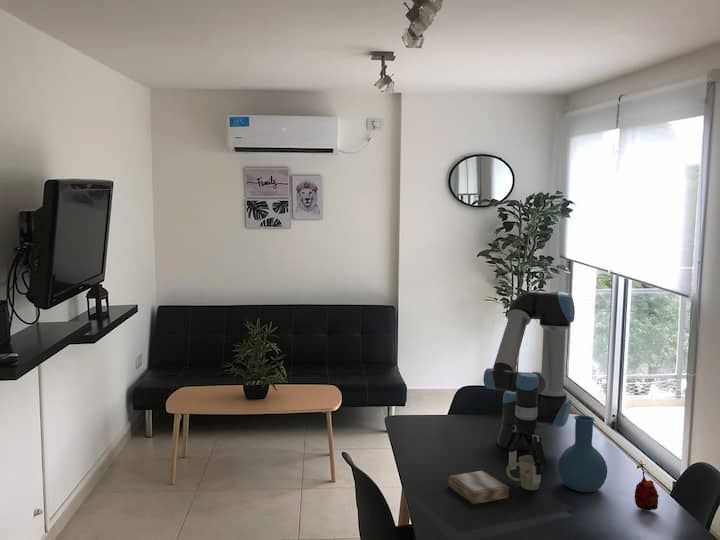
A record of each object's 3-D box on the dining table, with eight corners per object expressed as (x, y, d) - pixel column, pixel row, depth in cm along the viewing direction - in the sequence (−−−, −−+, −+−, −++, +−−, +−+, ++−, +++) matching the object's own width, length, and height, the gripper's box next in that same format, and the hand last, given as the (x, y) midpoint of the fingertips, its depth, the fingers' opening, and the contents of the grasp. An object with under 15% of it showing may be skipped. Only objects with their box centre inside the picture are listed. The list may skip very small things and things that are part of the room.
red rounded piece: (645, 513, 211) (647, 468, 209) (628, 504, 217) (630, 460, 216) (662, 509, 214) (664, 465, 213) (645, 501, 220) (647, 457, 219)
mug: (543, 492, 226) (544, 464, 225) (506, 489, 228) (506, 461, 228) (541, 483, 234) (542, 456, 233) (505, 480, 236) (506, 453, 236)
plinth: (481, 480, 236) (482, 469, 236) (508, 497, 221) (508, 486, 221) (448, 486, 230) (448, 475, 230) (473, 504, 216) (473, 492, 215)
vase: (582, 500, 220) (585, 427, 218) (547, 482, 235) (549, 414, 233) (617, 491, 228) (619, 421, 226) (580, 474, 242) (583, 409, 241)
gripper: (496, 408, 239) (494, 465, 241) (540, 428, 216) (538, 490, 218) (513, 406, 242) (511, 462, 244) (558, 426, 219) (556, 487, 221)
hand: (524, 476), depth 231 cm, fingers open, 13 cm apart
